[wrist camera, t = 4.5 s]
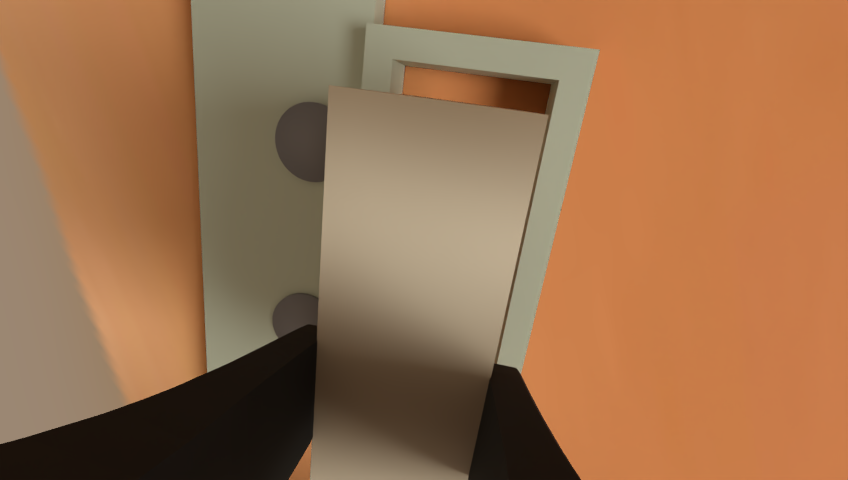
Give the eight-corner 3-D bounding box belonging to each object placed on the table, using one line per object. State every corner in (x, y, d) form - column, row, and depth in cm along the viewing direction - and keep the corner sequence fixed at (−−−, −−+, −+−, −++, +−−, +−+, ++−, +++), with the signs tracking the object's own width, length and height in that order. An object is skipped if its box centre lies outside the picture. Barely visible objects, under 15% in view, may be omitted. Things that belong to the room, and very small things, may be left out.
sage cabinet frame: (492, 456, 20) (492, 491, 18) (223, 392, 22) (197, 418, 20) (599, 2, 14) (615, -15, 12) (210, -37, 16) (171, -58, 14)
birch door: (459, 434, 16) (438, 616, 10) (372, 414, 16) (305, 577, 11) (524, 110, 12) (548, 115, 6) (406, 94, 12) (328, 85, 7)
